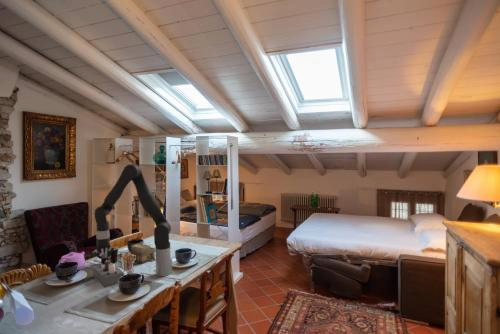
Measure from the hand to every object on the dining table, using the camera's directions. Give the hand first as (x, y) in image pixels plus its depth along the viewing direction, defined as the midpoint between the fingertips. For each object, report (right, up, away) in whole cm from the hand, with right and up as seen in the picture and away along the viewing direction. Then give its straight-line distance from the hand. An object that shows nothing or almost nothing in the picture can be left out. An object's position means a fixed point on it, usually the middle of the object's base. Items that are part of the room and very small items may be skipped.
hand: (103, 263), depth 195 cm
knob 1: (0, -6, 0) cm, 6 cm away
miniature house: (+16, -6, +27) cm, 32 cm away
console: (+5, -8, -5) cm, 11 cm away
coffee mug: (-6, -7, +24) cm, 25 cm away
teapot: (-24, -8, +7) cm, 26 cm away
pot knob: (+5, -3, -5) cm, 8 cm away
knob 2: (+10, -3, -11) cm, 15 cm away
